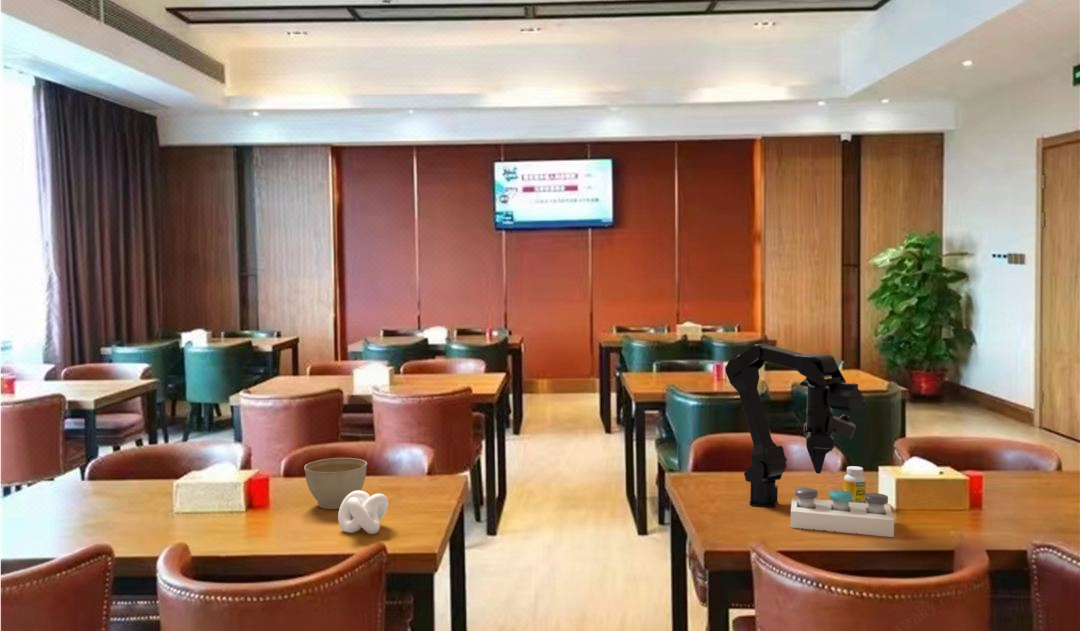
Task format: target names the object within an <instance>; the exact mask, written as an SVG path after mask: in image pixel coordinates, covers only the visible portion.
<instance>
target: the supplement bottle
mask: <svg viewBox="0 0 1080 631" xmlns="http://www.w3.org/2000/svg"><path fill="white" fill-rule="evenodd" d="M846 473H847V474H845V475H844V477H843V491H847V492H850V493H852V500H851V501H849V502H855V503H866V501H865V494H866V487H867V486H866V481H867V480H866V477H865V476H864V475H863V474H864V468H863V467H862V466H855V465H850V466H847V467H846Z"/></svg>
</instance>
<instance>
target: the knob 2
mask: <svg viewBox="0 0 1080 631" xmlns="http://www.w3.org/2000/svg"><path fill="white" fill-rule="evenodd" d="M865 503H867V504H868V513H871V514H883V515H884V505H888V504H889V497H888V495H886V494H882V493H877V492H868V493H865Z"/></svg>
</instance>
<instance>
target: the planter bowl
mask: <svg viewBox="0 0 1080 631" xmlns="http://www.w3.org/2000/svg"><path fill="white" fill-rule="evenodd" d="M367 466H368V462H367V461H365V460H364V459H360V458H354V457H353V458H352V457H334V458H332V457H331V458H325V459H320V460H315V461H311V462H309V463H306V464H305V465H304V468H303V469H304V473H305V479H306V480H305V482H306V484H307V487H308V491H309V492H310V493H311V495H312V496H313V498H314V500H316V501H317V502H316V503H317V505H318V507H319V508H321V509H326V510H327V509H328V510H338V509H340V506H341V504H342V502H343V500H344V499H345V497H346V496H347V495H348V494H350V493H351V492H353V491H358V490H360V491H362V489H363V487H364V483H365V482H366V481H365V480H366V478H367V477H366V476H367V468H368V467H367Z"/></svg>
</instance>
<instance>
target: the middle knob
mask: <svg viewBox="0 0 1080 631" xmlns="http://www.w3.org/2000/svg"><path fill="white" fill-rule="evenodd" d="M829 498H830V500H832V501H833V510H836V511H849V501H851V500H852V493H850V492H847V491H844V490H842V489H840V490H838V489H836V490H830V491H829Z"/></svg>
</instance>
